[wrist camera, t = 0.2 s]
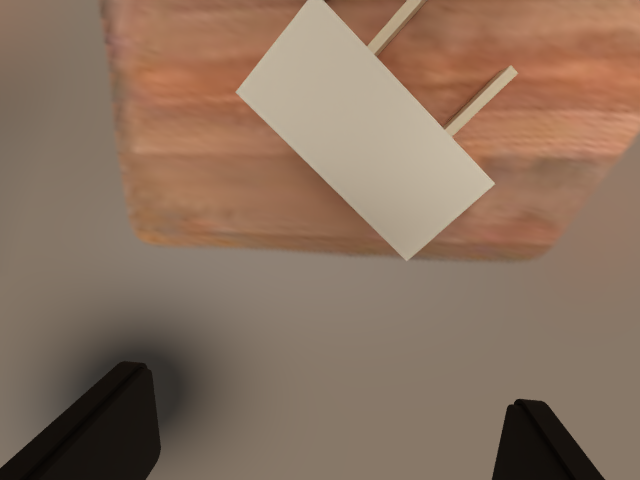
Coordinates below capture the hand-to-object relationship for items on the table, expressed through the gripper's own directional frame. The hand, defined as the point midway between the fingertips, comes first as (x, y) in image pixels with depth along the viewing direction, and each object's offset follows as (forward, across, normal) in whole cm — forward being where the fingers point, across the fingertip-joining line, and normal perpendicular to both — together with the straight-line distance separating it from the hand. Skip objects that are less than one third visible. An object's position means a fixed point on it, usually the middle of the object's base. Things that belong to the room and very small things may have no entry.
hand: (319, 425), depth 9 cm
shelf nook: (+31, -4, -11) cm, 33 cm away
